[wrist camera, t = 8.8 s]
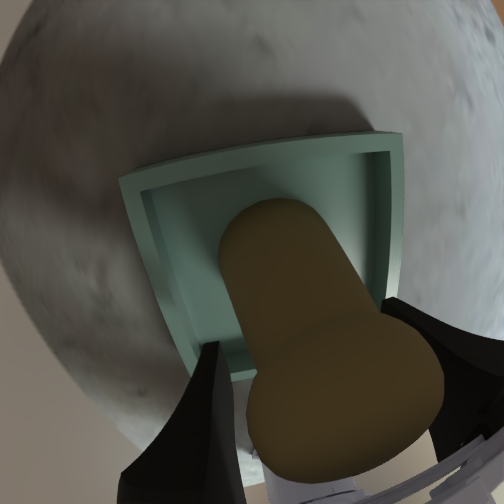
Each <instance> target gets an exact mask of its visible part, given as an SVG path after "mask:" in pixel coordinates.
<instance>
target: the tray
mask: <svg viewBox="0 0 504 504" xmlns="http://www.w3.org/2000/svg"><path fill="white" fill-rule="evenodd" d="M118 182H119V186H120V189H121V193H122V197H123V200H124V204H125V207H126V211H127V214H128V218H129V221H130V224H131V228H132V231H133V234H134V237H135V240H136V243H137V246H138V249H139V252H140V255H141V258H142V261H143V264H144V267H145V270H146V273H147V275H148V278H149V281H150V283H151V286H152V289H153V291H154V294H155V297H156V299H157V302H158V304H159V307H160V309H161V312H162V314H163V317H164V319H165V321H166V324H167V326H168V329H169V331H170V333H171V336H172V338H173V340H174V342H175V345H176V347H177V349H178V351H179V354H180V356H181V358H182V360H183V362H184V364H185V366H186V368H187V371H188V373H189V375H190V377H192V374H193V372H194V370H195V367H196V364H197V362H198V359H199V356H200V353H201V350H202V346H203V344H204V343H207V342H213V341H218V340H219V342H220V345H221V348H222V351H223V353H224V356H225V359H226V362H227V365H228V368H229V371H230V375H231V382H234V381H240V380H245V379H250V378H254V376H255V375H256V374H257V370H256V368H255V365H254V363H253V360H252V357H251V355H250V352H249V350H248V347H247V344H246V342H245V339H244V336H243V334H242V331H241V328H240V325H239V323H238V320H237V317H236V315H235V312H234V309H233V306H232V303H231V301H230V298H229V295H228V292H227V289H226V287H225V284H224V281H223V278H222V275H221V271H220V267H219V262H218V251H219V243H220V240H221V238H222V236H223V234H224V232H225V230H226V228H227V226H228V224H229V223H230V222H231V221H232V220H233V219H234V218H235V217H236V216H237V215H238V214H239V213H240V212H241V211H242V210H243V209H245V208H247V207H249V206H251V205H253V204H255V203H257V202H259V201H262V200H268V199H274V198H287V199H293V200H299V201H301V202H303V203H304V204H306V205H308V206H310V207H312V208H314V209H315V210H316V211H317V212H318V213H319V215H320V216H321V217H322V218H323V219H324V220H325V221H326V223H327V224H328V226H329V228H330V229H331V231H332V232H333V234H334V235H335V237H336V239H337V240H338V242H339V243H340V245H341V247H342V248H343V250H344V252H345V253H346V255H347V256H348V258H349V260H350V261H351V263H352V265H353V266H354V268H355V270H356V271H357V273H358V275H359V277H360V278H361V280H362V282H363V283H364V285H365V287H366V289H367V290H368V292H369V294H370V296H371V298H372V299H373V301H374V303H375V305H376V307H377V308H378V310H379V312H381V303H382V300H383V299H387V298H390V297H395V298H397V291H398V283H399V274H400V265H401V255H402V242H403V225H404V153H403V137H402V133H395V132H385V131H355V132H340V133H327V134H316V135H307V136H298V137H289V138H282V139H274V140H267V141H261V142H254V143H248V144H242V145H236V146H231V147H225V148H220V149H215V150H210V151H205V152H201V153H196V154H192V155H187V156H183V157H179V158H174V159H170V160H166V161H162V162H158V163H155V164H151V165H147V166H143V167H140V168H136V169H133V170H131V171H129V172H128V173H126V174H124V175H122V176H120V177H119V178H118Z"/></svg>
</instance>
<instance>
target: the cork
mask: <svg viewBox="0 0 504 504" xmlns="http://www.w3.org/2000/svg"><path fill="white" fill-rule="evenodd" d="M218 262H219V267H220V271H221V275H222V278H223V281H224V284H225V287H226V289H227V292H228V295H229V298H230V301H231V303H232V306H233V309H234V312H235V315H236V317H237V320H238V323H239V325H240V328H241V331H242V334H243V336H244V339H245V342H246V344H247V347H248V350H249V352H250V355H251V357H252V360H253V363H254V365H255V368H256V370H257V374H256V375H255V376H254V379H253V383H252V386H251V390H250V394H249V399H248V405H247V411H246V418H247V426H248V433H249V436H250V438H251V441H252V443H253V446H254V448H255V450H256V452H257V454H258V456H259V458H260V460H261V462H262V463H263V464H264V465H265V466H266V467H267V468H268V469H269V470H271V471H272V472H273V473H274V474H275V475H276V476H278V477H280V478H283V479H285V480H287V481H292V482H296V483H305V484H318V483H327V482H332V481H337V480H341V479H345V478H349V477H352V476H356V475H359V474H361V473H364V472H366V471H369V470H371V469H373V468H376V467H378V466H380V465H382V464H383V463H385V462H387V461H389V460H390V459H392V458H393V457H395V456H397V455H398V454H399V453H401V452H402V451H403V450H405V449H406V448H407V447H409V446H410V445H411V444H413V443H414V442H415V441H416V440H417V439H418V438H419V437H420V436H421V435H422V434H423V433H424V432H425V431H426V430H427V429H428V428H429V427H430V425H431V424H432V422H433V421H434V419H435V418H436V416H437V414H438V412H439V410H440V408H441V406H442V403H443V398H444V373H443V371H442V368H441V365H440V363H439V360H438V358H437V356H436V354H435V353H434V351H433V349H432V348H431V346H430V345H429V344H428V342H427V341H426V340H425V339H424V338H423V337H422V335H421V334H420V333H419V332H418V331H417V330H416V329H414V328H413V327H411V326H409V325H408V324H406V323H404V322H403V321H401V320H399V319H396V318H394V317H391V316H389V315H386V314H384V313H380V312H379V310H378V308H377V307H376V305H375V303H374V301H373V299H372V298H371V296H370V294H369V292H368V290H367V289H366V287H365V285H364V283H363V282H362V280H361V278H360V277H359V275H358V273H357V271H356V270H355V268H354V266H353V265H352V263H351V261H350V260H349V258H348V256H347V255H346V253H345V252H344V250H343V248H342V247H341V245H340V243H339V242H338V240H337V239H336V237H335V235H334V234H333V232H332V231H331V229H330V228H329V226H328V224H327V223H326V221H325V220H324V219H323V218H322V217H321V216H320V215H319V213H318V212H317V211H316V210H315V209H314V208H312V207H310V206H308V205H306V204H304V203H303V202H301V201H299V200H293V199H287V198H274V199H268V200H262V201H259V202H257V203H255V204H253V205H251V206H249V207H247V208H245V209H243V210H242V211H241V212H240V213H239V214H238V215H237V216H236V217H235V218H234V219H233V220H232V221H231V222H230V223H229V224H228V226H227V228H226V230H225V232H224V234H223V236H222V238H221V240H220V243H219V251H218Z"/></svg>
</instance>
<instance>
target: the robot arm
mask: <svg viewBox="0 0 504 504" xmlns="http://www.w3.org/2000/svg"><path fill="white" fill-rule="evenodd" d="M380 313H384V314H386V315H389V316H391V317H394V318H396V319H399V320H401V321H403V322H404V323H406V324H408V325H409V326H411V327H413V328H414V329H416V330H417V331H418V332H419V333H420V334H421V335H422V337H423V338H424V339H425V340H426V341H427V342H428V344H429V345H430V346H431V348H432V349H433V351H434V353H435V354H436V356H437V358H438V360H439V363H440V365H441V368H442V371H443V373H444V398H443V403H442V406H441V408H440V410H439V412H438V414H437V416H436V418H435V419H434V421H433V422H432V424H431V425H430V427H429V428H428V429H429V432H430V435H431V438H432V442H433V445H434V449H435V453H436V457H437V461H438V464H436V465H434V466H433V467H431V468H429V469H428V470H426V471H424V472H422V473H420V474H418V475H416V476H414V477H412V478H410V479H409V480H407V481H404V482H402V483H400V484H398V485H396V486H394V487H391V488H390V489H387V490H385V491H383V492H380V493H378V494H375V495H373V494H370V493H368V494H364V491H363V489H360V490H357V487H356V485H355V482H354V479H353V476H352V477H349V478H345V479H341V480H337V481H332V482H327V483H318V484H305V483H296V482H292V481H287V480H285V479H283V478H280V477H278V476H276V475H275V474H274V473H273V472H272V471H271V470H269V469H268V468H267V467H266V466H265V465H264V464H263V463H262V467H263V473H264V478H265V483H266V489H267V494H268V499H269V502H270V503H271V504H393V503H396V502H398V501H400V500H402V499H404V498H406V497H408V496H410V495H412V494H414V493H416V492H418V491H420V490H421V489H423V488H425V487H427V486H429V485H431V484H432V483H434V482H436V481H437V480H439V479H441V478H442V477H444V476H446V475H447V474H449V473H450V472H452V471H453V470H455V469H457V468H458V467H460V466H461V467H460V470H458V471H457V472H455V473H454V474H453V475H451V476H450V477H448V478H447V479H446V480H445V481H444V482H442V483H441V484H440V485H439V486H437V487H436V488H435V489H433V490H431V491H430V493H429V494H430V496H431V498H432V500H430V501H428V502H426V503H425V504H496V503H495V501H494V499H493V497H492V495H491V492H493V491H494V490H495V489H496V488H497V487H498V486H499V485H500V484H501V483H502V482H503V481H504V341H503V340H496V339H491V338H487V337H483V336H479V335H475V334H472V333H469V332H466V331H463V330H461V329H458V328H455V327H453V326H451V325H448V324H446V323H444V322H442V321H440V320H438V319H436V318H434V317H432V316H430V315H428V314H426V313H424V312H422V311H420V310H418V309H416V308H415V307H413V306H411V305H409V304H407V303H405V302H403V301H401V300H399V299H397V298H395V297H390V298H387V299H383V300H382V303H381V312H380ZM252 459H254V460H257V459H260V458H259V456H258V454H257V452H256V450H255V449H254V451H253V454H252ZM117 504H247V503H246V498H245V494H244V489H243V484H242V479H241V474H240V469H239V463H238V457H237V451H236V444H235V430H234V403H233V389H232V382H231V375H230V371H229V368H228V365H227V362H226V359H225V356H224V353H223V351H222V348H221V345H220V342H219V340H218V341H213V342H207V343H204V344H203V346H202V350H201V353H200V356H199V359H198V362H197V364H196V367H195V370H194V372H193V374H192V377H191V379H190V381H189V384H188V386H187V388H186V390H185V392H184V394H183V396H182V398H181V400H180V402H179V404H178V405H177V407H176V409H175V411H174V412H173V414H172V416H171V417H170V419H169V420H168V422H167V423H166V425H165V426H164V427H163V429H162V430H161V432H160V433H159V434H158V436H157V437H156V438H155V439H154V440H153V442H152V443H151V444H150V445H149V446H148V447H147V448H146V450H145V451H144V452H143V453H142V454H141V455H140V456H139V457H138V458H137V459H136V460H135V461H134V462H133V463H132V464H131V465H130V466H128V467H127V468H126V469H125V470H124V471H123V472H122V473H121V476H120V480H119V484H118V493H117Z"/></svg>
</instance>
